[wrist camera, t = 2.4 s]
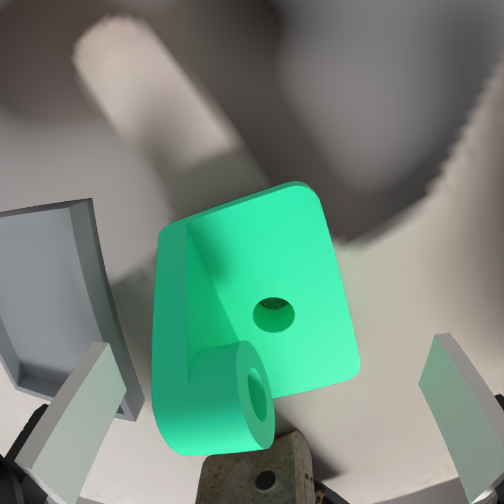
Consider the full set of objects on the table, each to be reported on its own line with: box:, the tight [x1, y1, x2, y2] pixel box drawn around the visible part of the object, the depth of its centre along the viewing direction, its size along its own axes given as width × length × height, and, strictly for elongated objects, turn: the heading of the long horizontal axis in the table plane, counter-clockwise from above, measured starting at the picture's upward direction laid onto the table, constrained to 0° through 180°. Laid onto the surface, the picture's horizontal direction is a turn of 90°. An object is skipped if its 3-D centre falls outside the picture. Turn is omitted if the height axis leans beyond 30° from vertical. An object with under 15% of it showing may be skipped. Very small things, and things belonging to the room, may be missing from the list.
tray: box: [0, 198, 145, 422], centre depth 19 cm, size 14×16×2 cm
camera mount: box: [152, 181, 361, 456], centre depth 14 cm, size 12×8×10 cm, turn 20°
